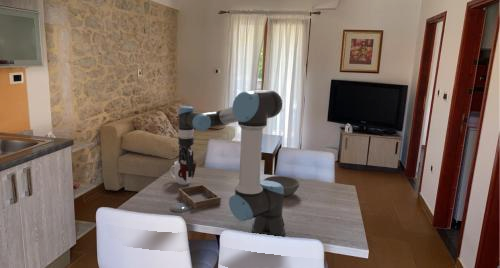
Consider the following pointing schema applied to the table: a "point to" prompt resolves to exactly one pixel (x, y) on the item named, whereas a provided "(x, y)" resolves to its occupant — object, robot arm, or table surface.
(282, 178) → the bowl
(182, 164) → the mug
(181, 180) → the mug
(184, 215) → the table surface
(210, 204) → the caddy
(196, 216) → the table surface
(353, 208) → the table surface
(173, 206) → the coaster
